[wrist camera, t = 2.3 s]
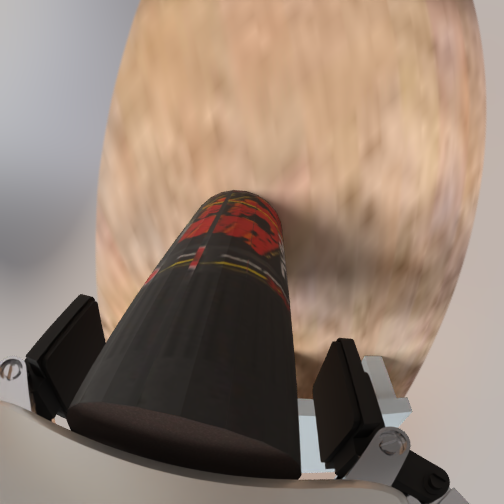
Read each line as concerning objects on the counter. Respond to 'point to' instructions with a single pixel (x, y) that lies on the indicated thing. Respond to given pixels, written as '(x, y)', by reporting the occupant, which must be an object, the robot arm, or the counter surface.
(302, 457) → the pale blue square tabletop
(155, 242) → the counter surface
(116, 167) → the counter surface
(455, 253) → the counter surface
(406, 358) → the counter surface
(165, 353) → the deodorant
